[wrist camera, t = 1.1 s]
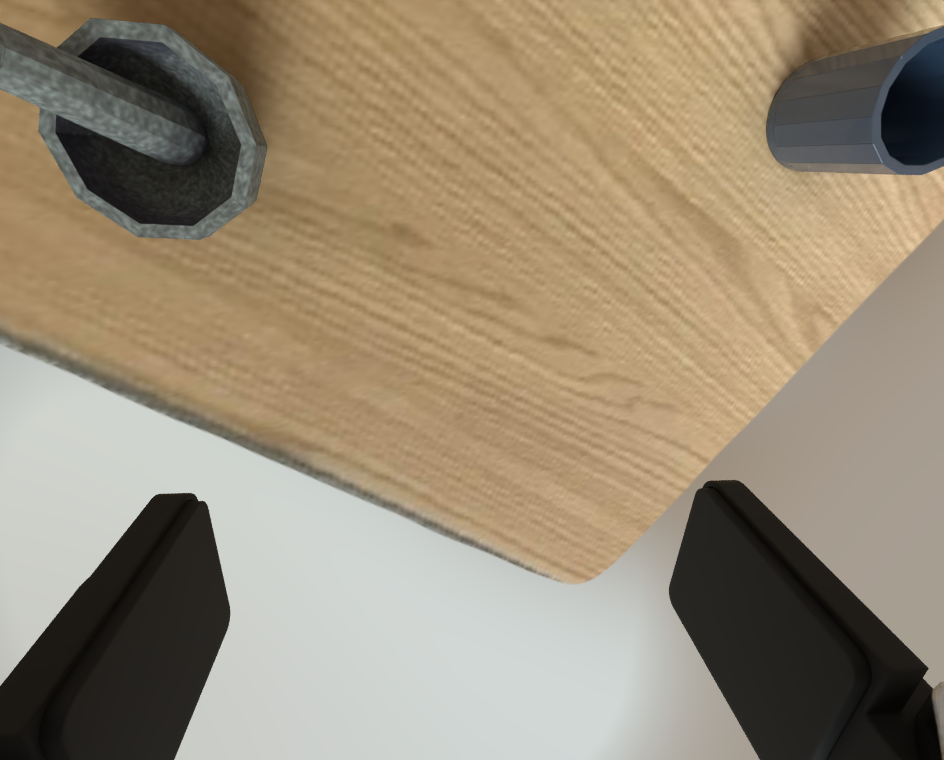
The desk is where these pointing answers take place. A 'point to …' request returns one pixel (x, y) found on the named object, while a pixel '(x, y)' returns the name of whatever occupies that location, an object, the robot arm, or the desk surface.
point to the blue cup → (864, 109)
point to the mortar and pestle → (141, 125)
